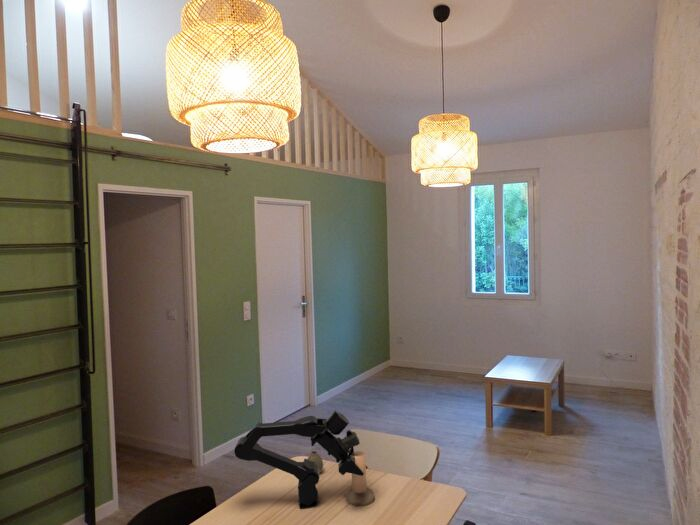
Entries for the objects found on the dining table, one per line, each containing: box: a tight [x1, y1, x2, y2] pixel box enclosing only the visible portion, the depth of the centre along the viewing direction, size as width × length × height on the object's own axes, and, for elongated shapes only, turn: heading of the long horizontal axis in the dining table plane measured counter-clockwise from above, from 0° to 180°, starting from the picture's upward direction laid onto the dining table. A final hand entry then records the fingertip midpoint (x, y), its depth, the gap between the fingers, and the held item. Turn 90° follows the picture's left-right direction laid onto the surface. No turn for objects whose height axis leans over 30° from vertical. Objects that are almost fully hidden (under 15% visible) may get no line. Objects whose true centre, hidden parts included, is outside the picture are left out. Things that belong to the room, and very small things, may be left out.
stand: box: [346, 487, 375, 507], centre depth 190 cm, size 10×10×2 cm
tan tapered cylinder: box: [351, 450, 368, 493], centre depth 190 cm, size 5×5×13 cm
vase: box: [306, 450, 324, 475], centre depth 214 cm, size 7×7×9 cm
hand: (362, 471), depth 190 cm, fingers closed on tan tapered cylinder, 5 cm apart
